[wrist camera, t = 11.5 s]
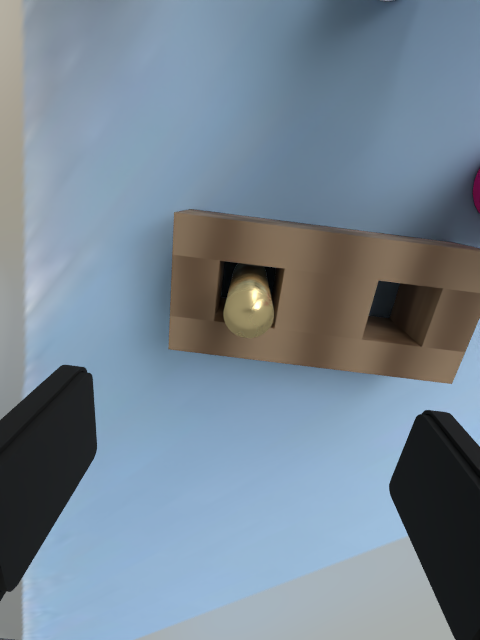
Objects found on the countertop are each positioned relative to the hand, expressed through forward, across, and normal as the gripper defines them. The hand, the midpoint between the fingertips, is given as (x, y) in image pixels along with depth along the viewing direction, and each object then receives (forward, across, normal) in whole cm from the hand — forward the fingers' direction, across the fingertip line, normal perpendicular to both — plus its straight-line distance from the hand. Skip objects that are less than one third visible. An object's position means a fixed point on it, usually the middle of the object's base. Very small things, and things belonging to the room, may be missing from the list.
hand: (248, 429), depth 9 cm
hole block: (+20, -5, +1) cm, 21 cm away
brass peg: (+20, 0, 0) cm, 20 cm away
